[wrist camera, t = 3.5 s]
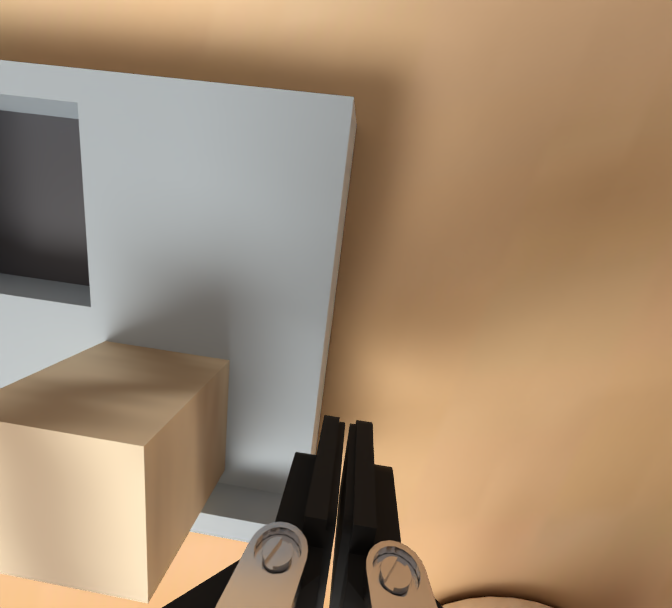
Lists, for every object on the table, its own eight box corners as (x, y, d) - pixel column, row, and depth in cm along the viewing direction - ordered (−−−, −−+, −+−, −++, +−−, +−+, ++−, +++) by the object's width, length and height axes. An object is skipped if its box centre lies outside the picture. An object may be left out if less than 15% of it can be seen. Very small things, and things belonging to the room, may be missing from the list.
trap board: (356, 125, 13) (351, 75, 9) (313, 466, 17) (295, 551, 13) (-232, 60, 14) (-490, -10, 10) (-144, 388, 18) (-302, 439, 14)
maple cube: (229, 360, 13) (143, 446, 8) (224, 469, 14) (148, 603, 9) (105, 340, 13) (-53, 412, 8) (111, 449, 14) (-22, 568, 9)
